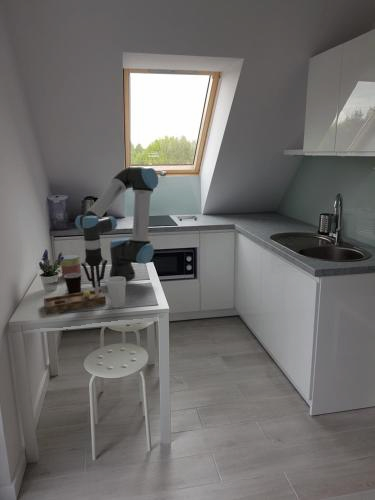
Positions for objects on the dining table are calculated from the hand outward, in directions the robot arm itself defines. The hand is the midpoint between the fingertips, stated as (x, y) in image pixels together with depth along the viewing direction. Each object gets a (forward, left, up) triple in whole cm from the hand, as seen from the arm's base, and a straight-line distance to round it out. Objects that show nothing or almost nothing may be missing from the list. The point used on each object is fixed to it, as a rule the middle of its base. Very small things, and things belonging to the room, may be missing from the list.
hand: (97, 293), depth 195 cm
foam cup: (-8, +10, -4) cm, 13 cm away
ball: (+5, 0, 0) cm, 5 cm away
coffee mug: (+8, -18, -4) cm, 20 cm away
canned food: (+6, -49, -4) cm, 50 cm away
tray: (+11, 0, -4) cm, 12 cm away
